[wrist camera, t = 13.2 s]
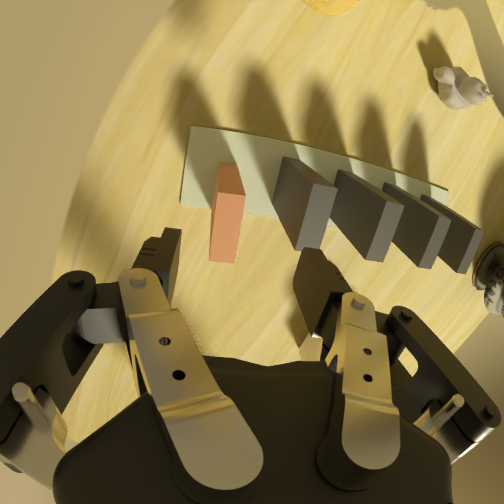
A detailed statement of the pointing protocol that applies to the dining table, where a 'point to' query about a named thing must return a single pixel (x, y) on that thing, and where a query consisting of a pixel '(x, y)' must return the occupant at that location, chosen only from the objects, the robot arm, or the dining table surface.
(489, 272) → the apothecary jar
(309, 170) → the domino
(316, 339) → the medicine bottle
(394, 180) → the mat
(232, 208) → the domino
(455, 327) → the dining table surface
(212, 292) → the dining table surface
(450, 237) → the domino
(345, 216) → the domino
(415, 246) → the domino
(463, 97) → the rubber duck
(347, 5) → the beer glass
